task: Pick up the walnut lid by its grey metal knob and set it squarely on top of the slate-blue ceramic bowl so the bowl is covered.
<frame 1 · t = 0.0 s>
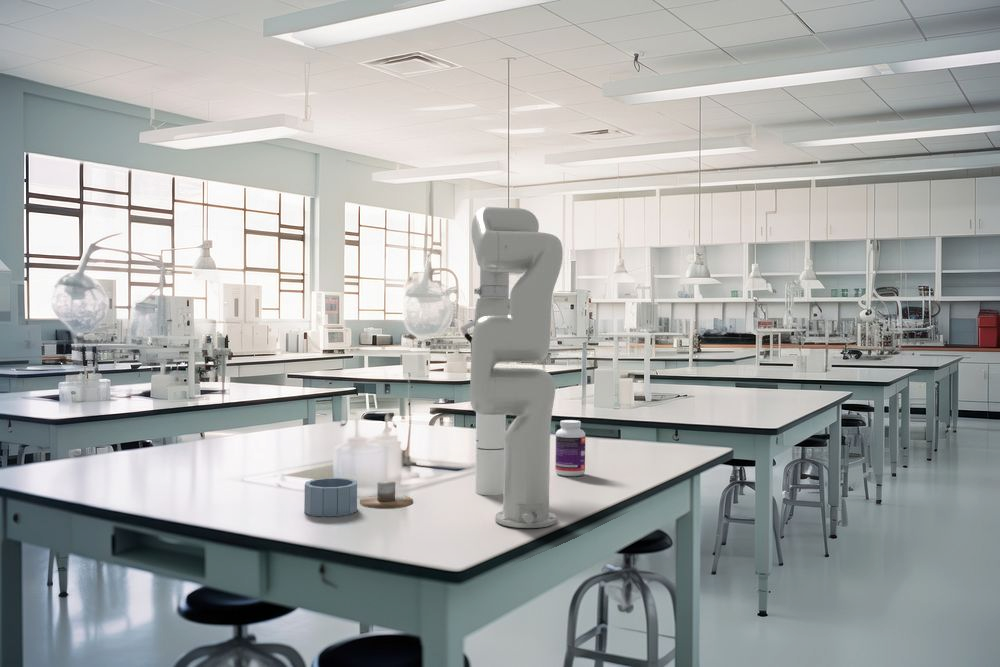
hand: (493, 359, 213), 31 cm above the lab bench, fingers open, 9 cm apart
lid: (386, 503, 186), on the lab bench
bowl: (331, 510, 177), on the lab bench
pill bottle: (570, 475, 222), on the lab bench
cylindrical container: (489, 492, 198), on the lab bench
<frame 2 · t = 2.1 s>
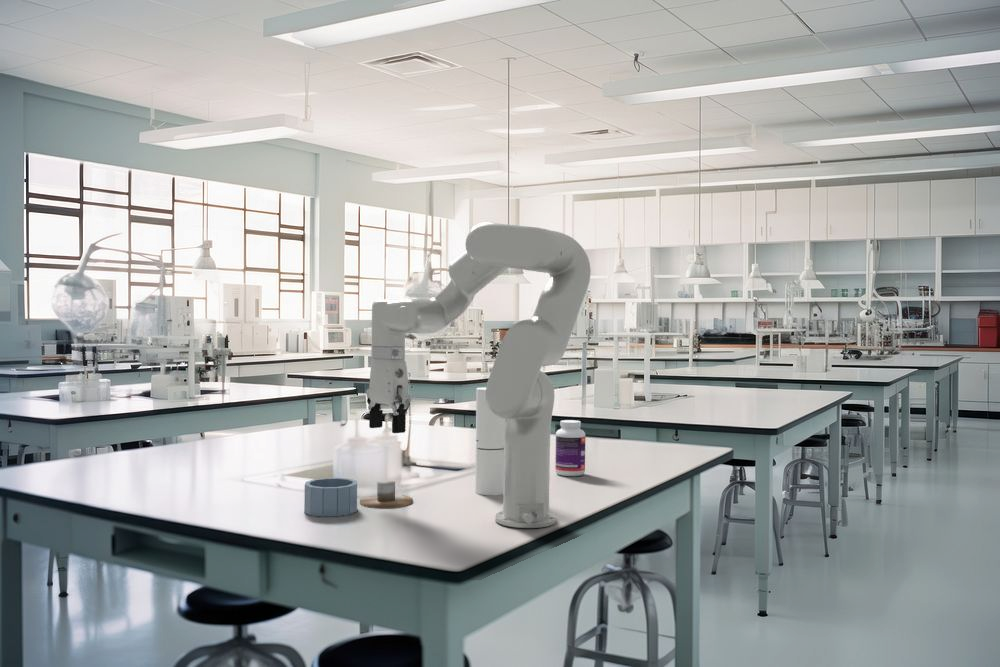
hand: (387, 430, 186), 16 cm above the lab bench, fingers open, 9 cm apart
nothing on the lab bench moved.
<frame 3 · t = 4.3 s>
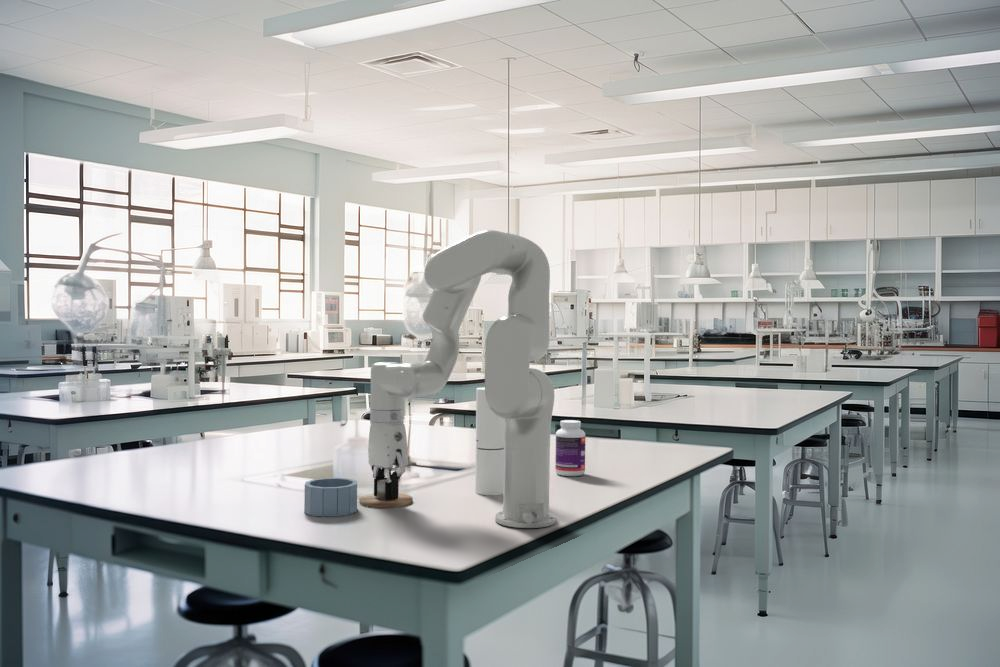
hand: (386, 496, 186), 1 cm above the lab bench, fingers closed on lid, 4 cm apart
lid: (386, 502, 186), on the lab bench, touching gripper
everything else where it was.
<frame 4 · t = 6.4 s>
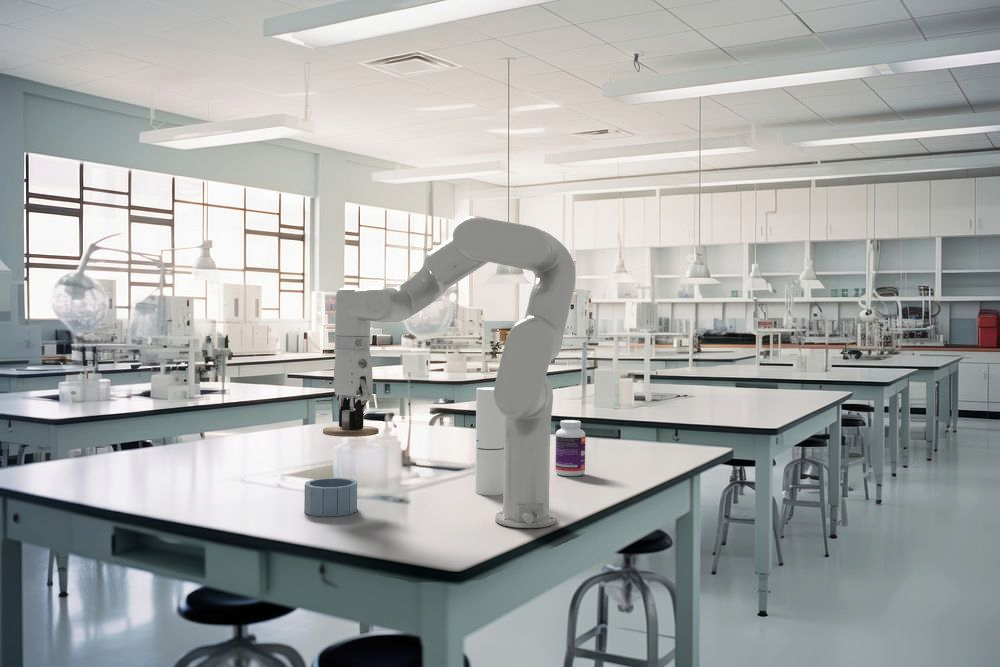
hand: (350, 427, 180), 18 cm above the lab bench, fingers closed on lid, 4 cm apart
lid: (350, 432, 180), point 16 cm above the lab bench, touching gripper
everything else where it was.
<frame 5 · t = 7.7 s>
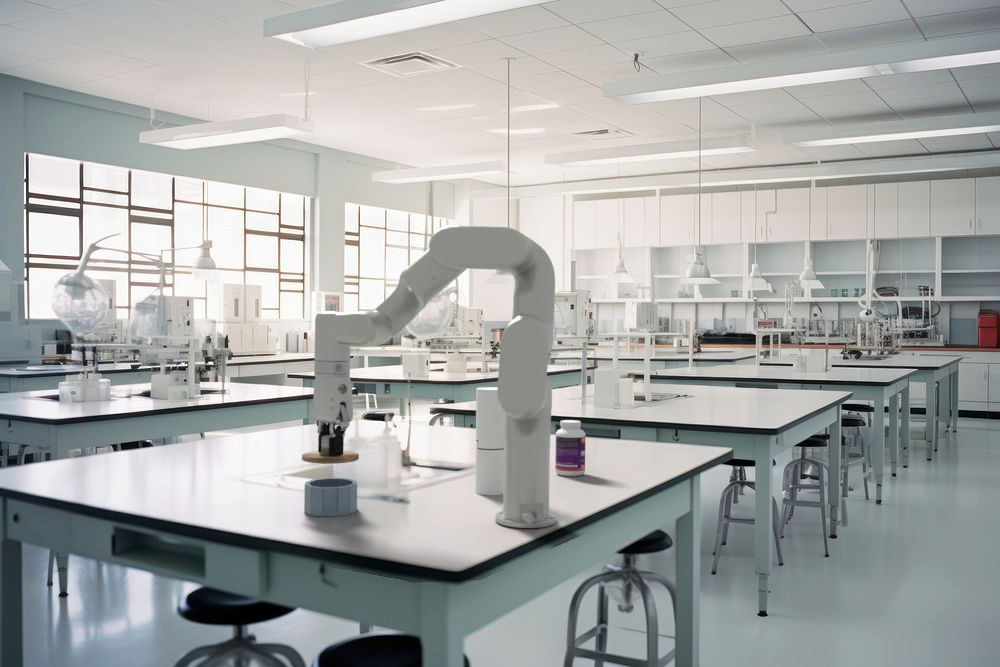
hand: (330, 453, 177), 12 cm above the lab bench, fingers closed on lid, 4 cm apart
lid: (330, 458, 177), point 11 cm above the lab bench, touching gripper
everything else where it was.
when the fingers open (9 cm above the lab bench, at t = 8.6 s): lid drops 1 cm, resting on bowl.
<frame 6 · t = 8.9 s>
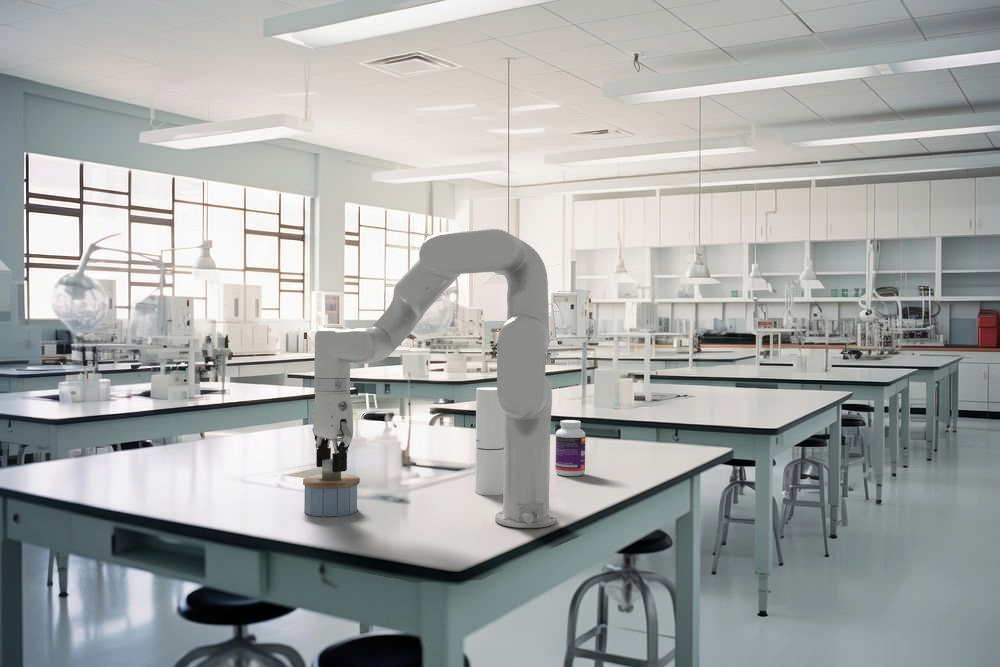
hand: (331, 468, 177), 9 cm above the lab bench, fingers open, 6 cm apart
lid: (331, 482, 177), point 6 cm above the lab bench, touching bowl
everything else where it was.
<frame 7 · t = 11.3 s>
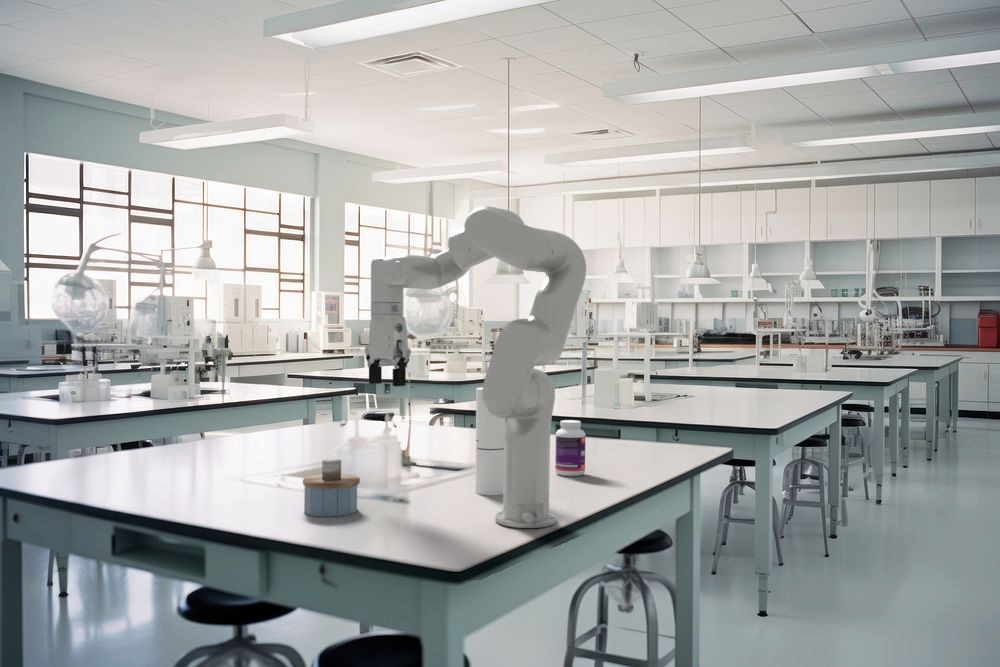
hand: (386, 384, 190), 26 cm above the lab bench, fingers open, 9 cm apart
nothing on the lab bench moved.
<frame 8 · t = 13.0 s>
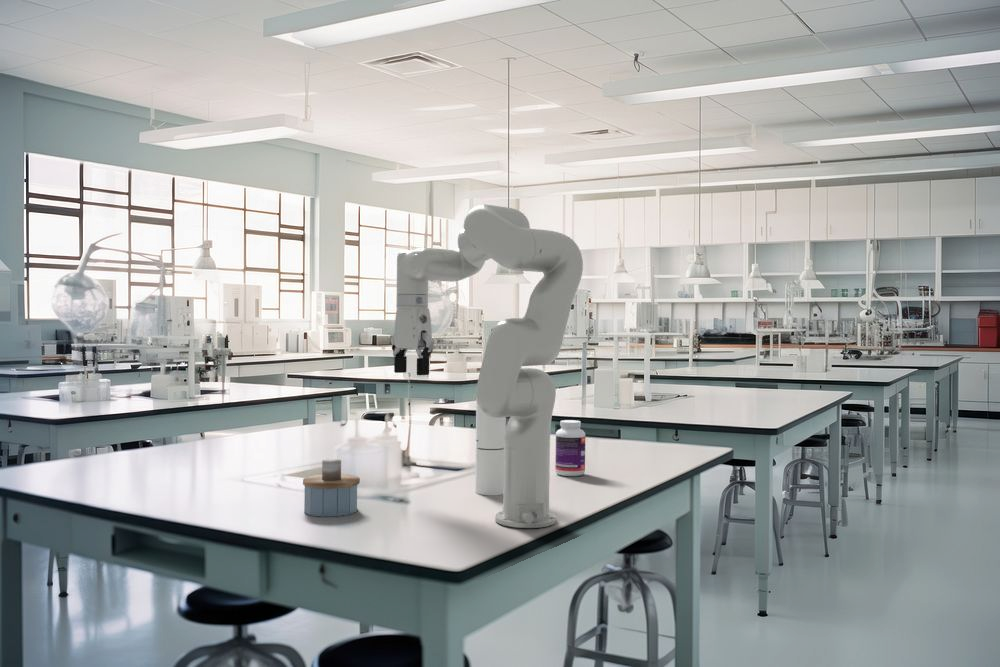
hand: (411, 373, 197), 28 cm above the lab bench, fingers open, 9 cm apart
nothing on the lab bench moved.
at the end: lid 0.1 cm from the bowl (horizontally); lid point 6.0 cm above the lab bench; lid tilted 0° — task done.
